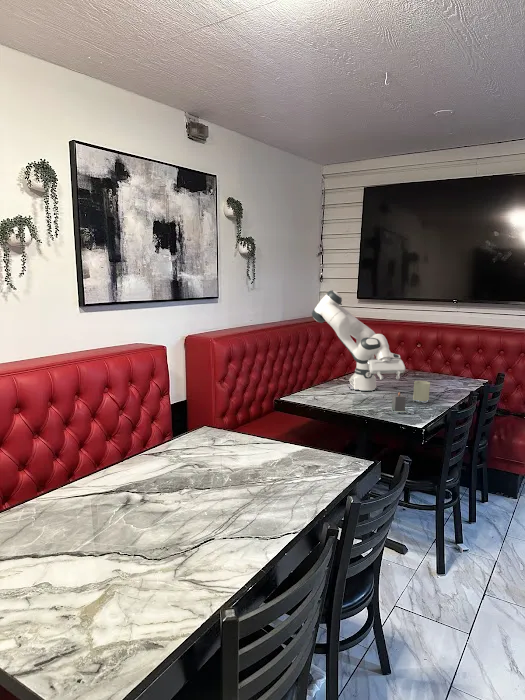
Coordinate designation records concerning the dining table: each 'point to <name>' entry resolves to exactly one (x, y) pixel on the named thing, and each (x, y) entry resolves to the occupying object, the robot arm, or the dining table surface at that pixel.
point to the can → (421, 390)
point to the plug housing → (398, 402)
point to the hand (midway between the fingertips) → (390, 378)
